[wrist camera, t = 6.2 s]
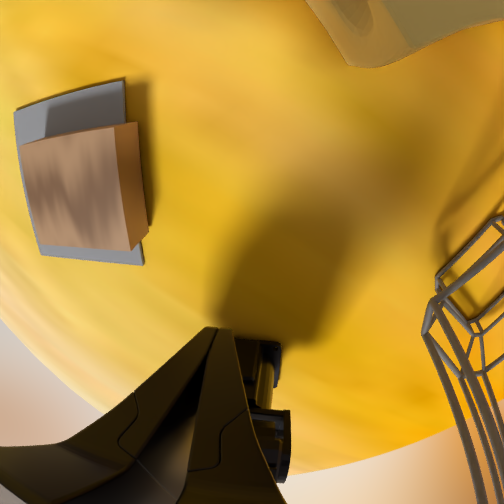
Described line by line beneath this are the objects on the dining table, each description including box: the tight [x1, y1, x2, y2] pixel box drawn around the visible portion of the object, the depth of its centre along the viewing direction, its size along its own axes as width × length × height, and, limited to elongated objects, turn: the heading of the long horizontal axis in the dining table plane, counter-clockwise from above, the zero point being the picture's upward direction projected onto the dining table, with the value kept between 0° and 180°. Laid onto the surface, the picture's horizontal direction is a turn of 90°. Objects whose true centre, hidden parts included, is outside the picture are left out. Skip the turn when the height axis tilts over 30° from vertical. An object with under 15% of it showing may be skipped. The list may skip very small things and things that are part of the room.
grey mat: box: [14, 81, 144, 266], centre depth 20 cm, size 14×12×1 cm
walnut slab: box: [19, 121, 149, 252], centre depth 18 cm, size 8×3×9 cm
